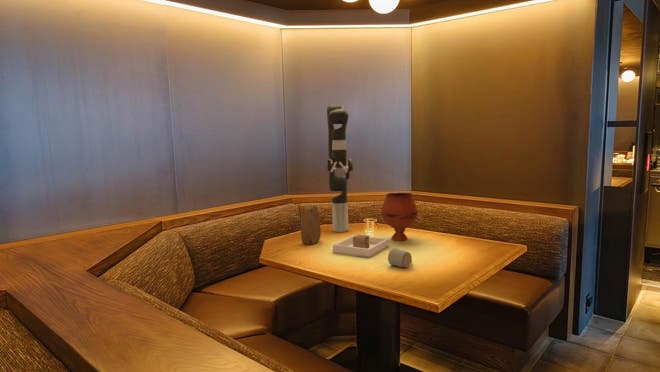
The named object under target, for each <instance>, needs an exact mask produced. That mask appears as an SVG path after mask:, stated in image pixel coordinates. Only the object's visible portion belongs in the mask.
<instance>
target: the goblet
mask: <svg viewBox="0 0 660 372" xmlns="http://www.w3.org/2000/svg"><path fill="white" fill-rule="evenodd" d="M381 215H382V216H381V218H382V219H383V220H384V222H385V223H386V224H387V225H388V226H389V227H391V228H393V229H394V233H393V235H392V236H391V240H393V241H407V240H408V239H409V238H408V236H407V235H406V233H405V232H406V229H407V228H409V227H410V226H412V225H413V224H414V222H415V221H416V220H417V219H418V218H417V217H418V207H417V205H416V202H415V199H414V196H413V193H411V192H389V193H386V194H385V198H384V200H383V203H382V207H381Z"/></svg>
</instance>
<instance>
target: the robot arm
mask: <svg viewBox="0 0 660 372" xmlns="http://www.w3.org/2000/svg"><path fill="white" fill-rule="evenodd" d="M349 117H350V116H349V113H348V111H347V110H346V108H345V106H344V105H341V104H340V105H339V104H338V105H337V104H336V105H328V106H327V109H326V118H327V119H326V120H327V131H328V132H327V133H328V134H327V135H328V136H327V137H328V138H327V139H328V140H327V141H328V143H327V144H328V145H327V149H328V159H327V171H328V187H329V191H330V192H341V193H340V194H338V195H336V196H334V197H332V198H331V210H332V231H333V232H335V233H345V232H347V231H349V214H348V210H349V209H348V180H349V179H350V176H351V175H350V172H353V169H354V168H353V160H352V159H347V155H348V153H347V141H346V140H347V138H346V137H347V136H346V135H347V134H346V133H347V132H346V130H347V125H348V122H349ZM335 125H341V127H339V128H335ZM337 169H343V171H344V172H345V175H336V170H337Z"/></svg>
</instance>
